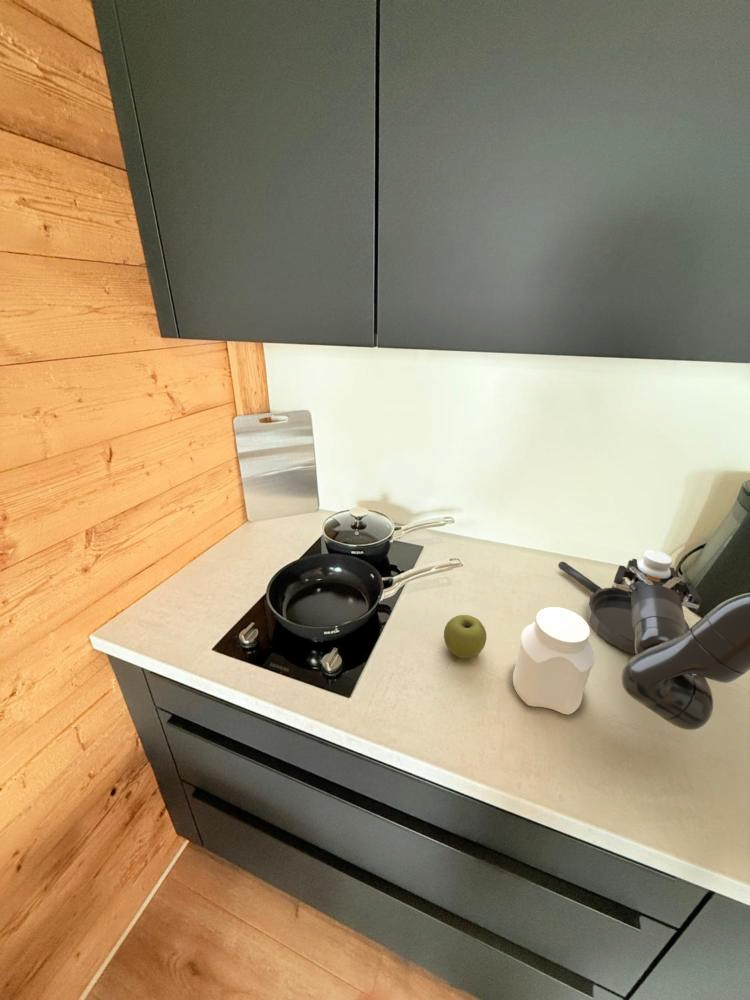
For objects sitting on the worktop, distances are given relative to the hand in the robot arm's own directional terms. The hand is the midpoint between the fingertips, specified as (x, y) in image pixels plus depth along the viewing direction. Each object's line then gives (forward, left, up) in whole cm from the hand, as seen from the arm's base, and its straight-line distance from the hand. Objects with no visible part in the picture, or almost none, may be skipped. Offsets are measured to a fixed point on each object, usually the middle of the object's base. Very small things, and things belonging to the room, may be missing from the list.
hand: (651, 567), depth 85 cm
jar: (+30, +7, -14) cm, 34 cm away
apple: (+39, -6, -14) cm, 42 cm away
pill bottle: (+2, +2, -6) cm, 7 cm away
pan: (+2, +2, -14) cm, 14 cm away
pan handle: (+2, -13, -13) cm, 18 cm away
